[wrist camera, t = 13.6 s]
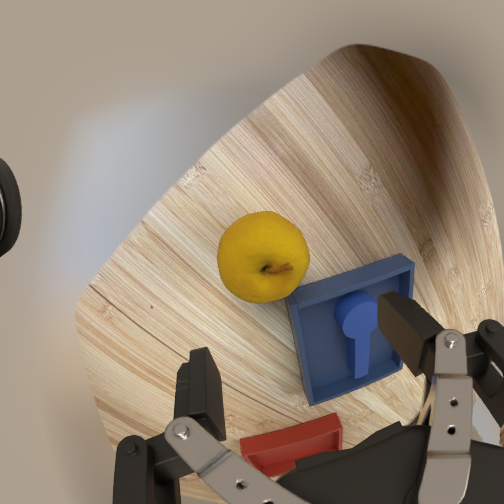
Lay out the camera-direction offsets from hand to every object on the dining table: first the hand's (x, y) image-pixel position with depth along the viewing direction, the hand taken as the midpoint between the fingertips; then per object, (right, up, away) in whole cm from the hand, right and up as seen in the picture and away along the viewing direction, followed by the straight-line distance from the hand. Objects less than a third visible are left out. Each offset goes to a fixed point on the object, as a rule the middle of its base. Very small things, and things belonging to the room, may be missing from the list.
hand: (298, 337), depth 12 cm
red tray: (+5, -28, +26) cm, 39 cm away
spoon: (+9, -5, +17) cm, 20 cm away
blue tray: (+9, -5, +18) cm, 21 cm away
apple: (-2, +5, +12) cm, 13 cm away
